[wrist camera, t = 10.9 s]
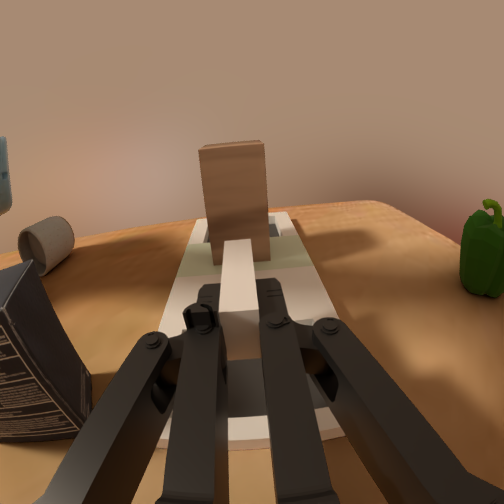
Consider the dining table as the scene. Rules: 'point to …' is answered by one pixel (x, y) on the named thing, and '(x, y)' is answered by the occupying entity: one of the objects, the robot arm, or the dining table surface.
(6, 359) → the small box
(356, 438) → the robot arm
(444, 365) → the dining table surface
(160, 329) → the trap board
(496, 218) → the bell pepper
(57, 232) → the ceramic mug
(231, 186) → the walnut block
